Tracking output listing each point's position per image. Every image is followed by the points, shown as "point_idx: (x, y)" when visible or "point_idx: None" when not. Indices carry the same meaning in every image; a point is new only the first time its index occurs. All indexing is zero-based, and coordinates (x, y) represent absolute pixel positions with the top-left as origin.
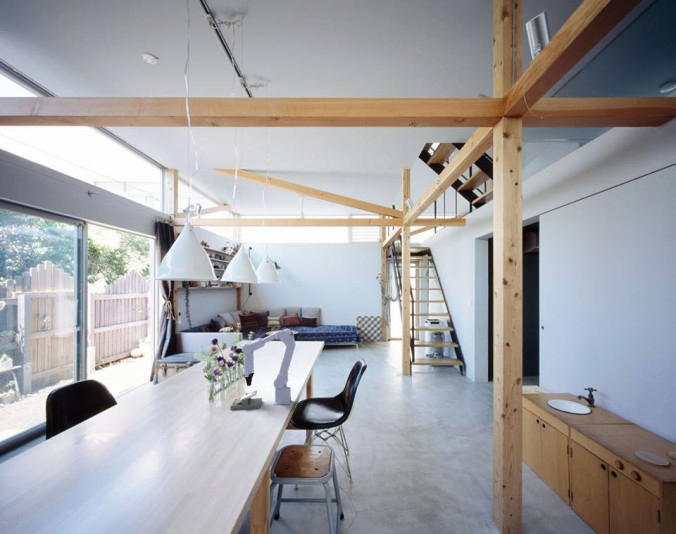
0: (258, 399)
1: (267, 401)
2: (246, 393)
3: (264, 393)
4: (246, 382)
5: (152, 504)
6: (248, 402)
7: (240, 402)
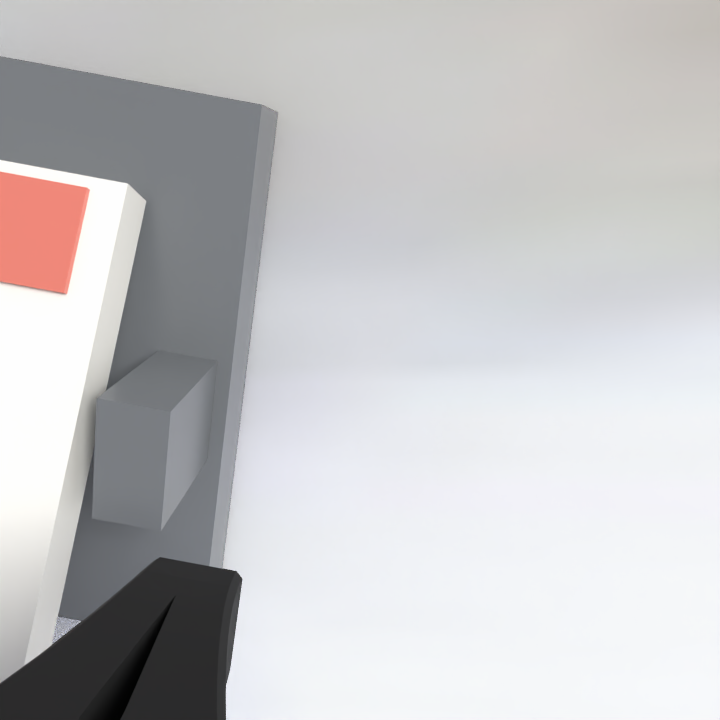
0: None
1: None
2: (150, 424)
3: (636, 650)
4: (46, 650)
5: None
6: None
7: None
